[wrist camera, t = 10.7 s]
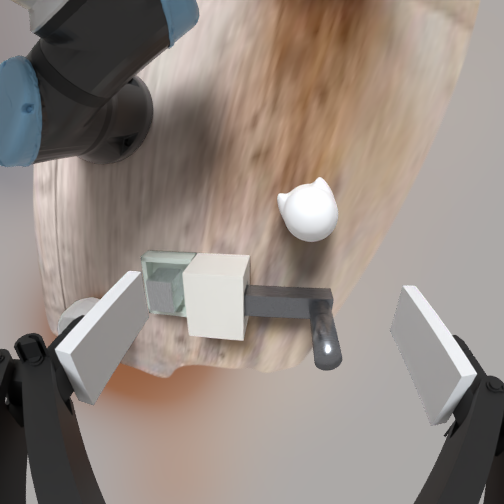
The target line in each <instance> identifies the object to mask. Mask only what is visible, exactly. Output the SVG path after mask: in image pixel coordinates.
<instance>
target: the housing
mask: <svg viewBox="0 0 504 504" xmlns="http://www.w3.org/2000/svg"><path fill="white" fill-rule="evenodd" d="M182 275H183V285H184V296H185V305H186V314H187V323H188V331H189V335H190V336H199V337H208V338H218V339H229V340H242V341H244V336H245V331H246V327H247V322H248V318H249V316H246V315H244V292H245V288H246V285H250V255H231V254H210V253H197V255H196V256H195V257H194V259H193V260H192V261H191V262H190V264H189V265H188V266H187V268H186V269H185V270H184V272H183V273H182Z"/></svg>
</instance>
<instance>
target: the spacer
mask: <svg viewBox="0 0 504 504" xmlns="http://www.w3.org/2000/svg"><path fill="white" fill-rule="evenodd" d="M146 286H147V293H148V299H149V305H150V310H152V311H161V312H169V313H175V311H176V310H177V308H178V306H179V305H180V303H181V302H182V300H183V299H184V289H183V279H182V269H173V268H157V269H156V270H155V272H154V273H153V274H152V275H151V276H150V277H149V278H148V279H147V280H146Z"/></svg>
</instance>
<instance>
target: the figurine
mask: <svg viewBox="0 0 504 504" xmlns="http://www.w3.org/2000/svg"><path fill="white" fill-rule="evenodd" d="M277 201H278V207H279V210H280V213H281V215H282V217H283V219H284V221H285V224H286V226H287V228H288V230H289V231H290V232H291V233H292V234H293V235H294V236H295V237H297V238H298V239H300V240H303V241H308V242H315V241H319V240H322V239H324V238H326V237H327V236H328V235H330V234H331V233H332V231H333V230H334V228H335V227H336V224H337V221H338V209H337V205H336V203H335V199H334V196H333V194H332V191H331V189H330V187H329V186H328V184H327V183H326V182H325V180H324V179H322V178H321V177H319V178H317V179H316V181H315V182H314V183H311V184H304V185H300V186H298V187H296V188H295V189H293V190H292V191H291V192H289V193H287V194H283V193H280V194H278V197H277Z"/></svg>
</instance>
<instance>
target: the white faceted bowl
mask: <svg viewBox="0 0 504 504" xmlns="http://www.w3.org/2000/svg"><path fill="white" fill-rule="evenodd" d="M99 300H100V299H98V298H94V297H90V298H84V299H81V300H77V301H75V302H74V303H73V304H72V305H71V306H70V307H69V308H67V309H66V310H65V311H64V312H63V313H62V315H61V317H60V319H59V321H58V327H57V330H58V335H60V334H62V331H63V330H64V329H65V328H67V326H68V325H69V324H70V323H71V322H72V321H73V320H74V319H76V318H78V317H79V316H81V315H86V314H87V313H88V312H89V311H90V310H91V309H92V308H93V307H94V306H95V305H96V304H97V302H98V301H99Z"/></svg>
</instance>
